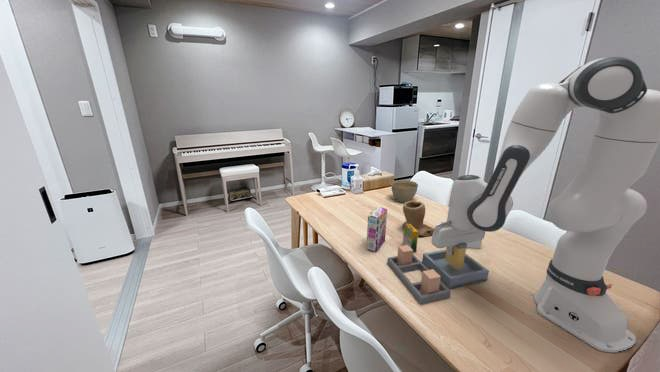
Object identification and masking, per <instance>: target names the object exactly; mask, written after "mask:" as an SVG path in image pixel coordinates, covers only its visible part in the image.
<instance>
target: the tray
mask: <svg viewBox="0 0 660 372" xmlns="http://www.w3.org/2000/svg"><path fill="white" fill-rule="evenodd" d="M445 256H446V249H442V250H436V251H431V252H425V253H422V260H421V262H422V263H423V264H424V265H425V266H426V267H427V268H428V269H429V270H431V269H433V270H434V271H435V272H437V273H438V274H439V275H440V276H441V278H440V281H441V282H442V283H443V284H444V285H445V286H446V287H447V288H448V289H449V290H450V289H455V288H460V287H465V286H468V285H472V284H476V283H480V282H481V283H482V282H486V281H488V278H489V272H490V270H489V269H487V268H486V267H484V266H483V265H482V264H481V263H480V262H478V261H476V259H474V258H472V257H471V256H470V255H469V254H467V253H466V252H465V258H464V264H463V268H460V269H455V268H454V267H453V266H451V265H450V264H449V263H448V262H447V261H446V260H445Z"/></svg>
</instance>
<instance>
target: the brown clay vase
mask: <svg viewBox="0 0 660 372" xmlns="http://www.w3.org/2000/svg"><path fill="white" fill-rule="evenodd" d="M402 211H403V214H404V215H403V216H404V218H405V221H406V222H407V223H408V224H411V225H412V226H413V227H414V228H415V229H416V230H417V231H418V236H420V237H429V236H432V235H433V232H434V229H435V227H432V226H429V225H427V224H424V220H425V216H426V205H425V204H424V202H422V201H417V200H411V201H408V202H406V203H403V204H402ZM404 225H405V222H404V223H402V225H401V226H402V228H403V229H404Z"/></svg>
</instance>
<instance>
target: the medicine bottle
mask: <svg viewBox="0 0 660 372" xmlns="http://www.w3.org/2000/svg"><path fill="white" fill-rule="evenodd" d="M482 241H483V239H482V240H481V241H476V242H471V243H468V246H467V247H466V249H467V248H468V249H470V248H471V249H478V250H479V249H481V246H482Z"/></svg>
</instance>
